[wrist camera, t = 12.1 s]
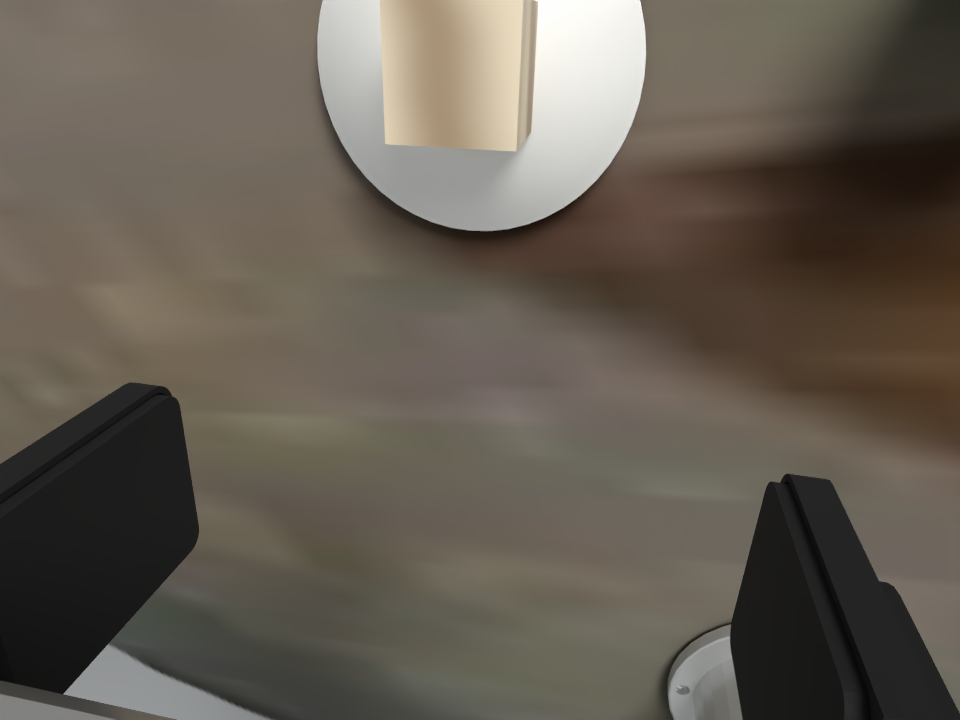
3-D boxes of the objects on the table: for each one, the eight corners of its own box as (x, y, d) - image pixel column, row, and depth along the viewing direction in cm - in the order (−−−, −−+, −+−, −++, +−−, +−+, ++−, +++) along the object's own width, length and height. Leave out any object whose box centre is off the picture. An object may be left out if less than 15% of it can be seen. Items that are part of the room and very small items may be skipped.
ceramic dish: (670, -126, 26) (673, -132, 24) (620, 236, 32) (620, 244, 31) (317, -131, 27) (305, -137, 26) (336, 211, 34) (327, 217, 33)
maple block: (538, 1, 27) (523, -3, 23) (531, 132, 29) (516, 151, 25) (417, -2, 28) (379, -6, 23) (418, 126, 30) (385, 144, 26)
